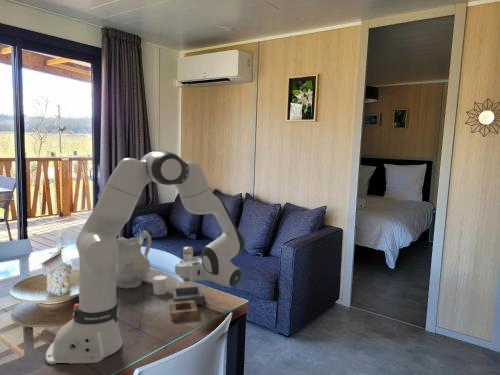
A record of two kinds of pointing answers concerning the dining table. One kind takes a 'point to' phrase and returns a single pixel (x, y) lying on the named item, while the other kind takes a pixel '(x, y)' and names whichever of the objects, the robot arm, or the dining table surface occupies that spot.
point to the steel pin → (187, 256)
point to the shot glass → (160, 284)
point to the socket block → (183, 310)
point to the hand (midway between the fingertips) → (186, 260)
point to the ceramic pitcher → (132, 261)
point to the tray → (188, 294)
